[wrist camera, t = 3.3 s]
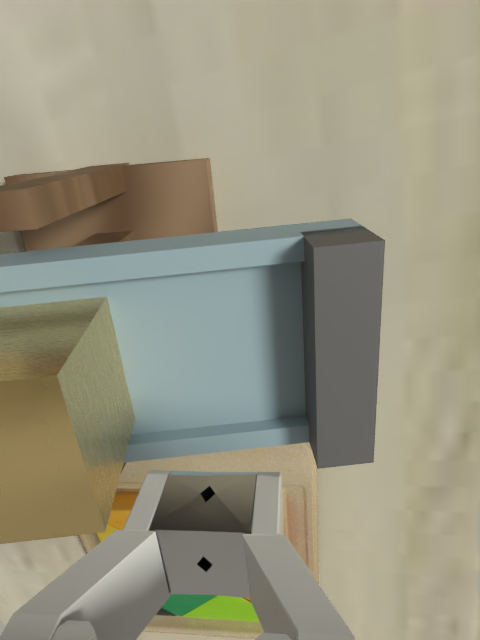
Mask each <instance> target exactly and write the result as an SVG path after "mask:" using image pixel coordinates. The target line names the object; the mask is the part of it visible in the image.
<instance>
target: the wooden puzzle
mask: <svg viewBox="0 0 480 640" xmlns="http://www.w3.org/2000/svg"><path fill="white" fill-rule="evenodd" d="M151 470H158V471H195V472H280V473H281V477H282V493H283V510H284V536H286V537H287V538H288V539H289V541H290V542H291V544H292V545H293V547H294V548H295V550H296V551H297V553H298V554H299V556H300V557H301V559H302V560H303V562H304V563H305V565H306V566H307V567H308V569H309V570H310V572H311V573H312V575H313V576H314V578H315V579H316V581H317V582H318V584H319V572H318V504H317V467H316V462H315V459H314V455H313V452H312V449H311V446H310V445H309V443H308V442H307V443H298V444H289V445H280V446H271V447H261V448H252V449H243V450H234V451H225V452H216V453H207V454H198V455H189V456H180V457H171V458H162V459H153V460H143V461H134V462H126V464H125V467H124V469H123V471H122V473H121V475H120V478H119V482H118V486H117V490H116V493H115V497H114V501H113V505H112V508H111V512H110V516H109V520H108V523H107V527H106V531H105V532H101V533H93V534H84V535H79V537H80V540H81V542H82V544H83V546H84V548H85V551H86V553H88V552H90V551H91V550H92V549H93V548H94V547H96V546H97V545H98V544H99V543H101V542H102V541H103V540H104V539H105V538H107V537H108V536H109V535H110V534H112V533H113V532H114V531H115V530H123V528H124V526H125V524H126V521H127V519H128V517H129V514H130V512H131V509H132V507H133V505H134V502H135V500H136V498H137V495H138V493H139V491H140V488H141V486H142V484H143V481H144V479H145V477H146V475H147V474H148V473H149V472H150V471H151ZM143 631H145V632H160V633H175V634H191V635H206V636H221V637H239V638H257V637H258V636H259V635H260V634H261V633H265V632H264V630H263V628H262V625H261V623H260V621H259V619H258V616H257V614H256V612H255V610H254V607H253V605H252V603H251V601H250V598H242V597H231V596H219V595H201V594H170V597H169V599H168V600H167V601H166V602H165V604H164V605H163V606H162V607H161V609H160V610H159V611H158V612H157V614H156V615H155V616H154V617H153V619H152V620H151V621H150V622H149V624H148V625H147V626H146V627H145V629H144V630H143Z"/></svg>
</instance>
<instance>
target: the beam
mask: <svg viewBox="0 0 480 640" xmlns="http://www.w3.org/2000/svg"><path fill="white" fill-rule="evenodd" d="M384 248H385V240H383V239H382V238H380V237H379V236H377V235H376V234H374V233H373V232H371V231H369V230H368V229H366V228H365V227H363V226H362V225H360V224H359V223H357V222H356V221H354V220H352V219H342V220H332V221H322V222H312V223H302V224H292V225H283V226H273V227H263V228H253V229H243V230H233V231H223V232H213V233H203V234H193V235H184V236H174V237H164V238H154V239H144V240H134V241H124V242H114V243H104V244H94V245H85V246H75V247H65V248H55V249H45V250H35V251H25V252H15V253H5V254H0V308H1V307H11V306H20V305H30V304H40V303H49V302H59V301H69V300H78V299H88V298H98V297H107V299H108V303H109V308H110V312H111V316H112V321H113V325H114V329H115V334H116V338H117V342H118V347H119V351H120V355H121V360H122V364H123V368H124V373H125V377H126V381H127V386H128V390H129V394H130V399H131V403H132V407H133V412H134V416H135V422H134V426H133V429H132V433H131V437H130V441H129V444H128V448H127V452H126V456H125V459H124V463H125V462H134V461H143V460H153V459H162V458H171V457H180V456H189V455H198V454H207V453H216V452H225V451H234V450H243V449H252V448H261V447H271V446H280V445H289V444H298V443H307V442H310V446H311V449H312V452H313V455H314V459H315V462H316V465H317V468H327V467H336V466H345V465H354V464H363V463H372V462H374V442H375V423H376V404H377V384H378V365H379V345H380V326H381V307H382V287H383V268H384Z"/></svg>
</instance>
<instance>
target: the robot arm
mask: <svg viewBox="0 0 480 640" xmlns="http://www.w3.org/2000/svg"><path fill="white" fill-rule="evenodd" d="M170 594H201V595H219V596H231V597H242V598H250V601H251V603H252V605H253V607H254V610H255V612H256V614H257V616H258V619H259V621H260V623H261V625H262V628H263V630H264V632H265V633H261V634H260V635H259V636H258V637H257V638H256V639H255V640H355V637H354V635H353V634H352V632H351V631H350V629H349V628H348V626H347V625H346V623H345V622H344V620H343V619H342V618H341V616H340V615H339V613H338V612H337V610H336V609H335V607H334V606H333V604H332V603H331V601H330V600H329V598H328V597H327V595H326V594H325V592H324V591H323V590H322V588H321V587H320V585H319V584H318V582H317V581H316V579H315V578H314V576H313V575H312V573H311V572H310V570H309V569H308V567H307V566H306V565H305V563H304V562H303V560H302V559H301V557H300V556H299V554H298V553H297V551H296V550H295V548H294V547H293V545H292V544H291V542H290V541H289V539H288V538H287V537H286V536H284V510H283V493H282V477H281V473H280V472H195V471H158V470H151V471H150V472H149V473H148V474H147V475H146V477H145V479H144V481H143V484H142V486H141V488H140V491H139V493H138V495H137V498H136V500H135V502H134V505H133V507H132V509H131V512H130V514H129V517H128V519H127V521H126V524H125V526H124V528H123V530H115V531H114V532H113V533H112V534H110V535H109V536H108V537H107V538H105V539H104V540H103V541H102V542H101V543H99V544H98V545H97V546H96V547H94V548H93V549H92V550H91V551H90V552H88V553H87V554H86V555H85V556H83V557H82V558H81V559H80V560H78V561H77V562H76V563H75V564H74V565H72V566H71V567H70V568H69V569H67V570H66V571H65V572H64V573H63V574H61V575H60V576H59V577H58V578H56V579H55V580H54V581H53V582H51V583H50V584H49V585H48V586H47V587H45V588H44V589H43V590H42V591H40V592H39V593H38V594H37V595H36V596H34V597H33V598H32V599H31V600H29V601H28V602H27V603H26V604H25V605H23V606H22V607H21V608H20V609H18V610H17V611H16V612H15V613H13V615H12V617H11V618H10V620H9V622H8V623H7V625H6V627H5V629H4V630H3V632H2V634H1V636H0V640H136V639H137V638H138V636H139V635H140V634H141V632H142V631H143V630H144V629H145V627H146V626H147V625H148V624H149V622H150V621H151V620H152V619H153V617H154V616H155V615H156V614H157V612H158V611H159V610H160V609H161V607H162V606H163V605H164V604H165V602H166V601H167V600H168V599H169V597H170Z"/></svg>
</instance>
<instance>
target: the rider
mask: <svg viewBox="0 0 480 640" xmlns="http://www.w3.org/2000/svg"><path fill="white" fill-rule="evenodd" d="M134 422H135V416H134V412H133V407H132V403H131V399H130V394H129V390H128V386H127V381H126V377H125V373H124V368H123V364H122V360H121V355H120V351H119V347H118V342H117V338H116V334H115V329H114V325H113V321H112V316H111V312H110V308H109V303H108V299H107V297H98V298H88V299H78V300H69V301H59V302H49V303H40V304H30V305H20V306H11V307H1V308H0V544H4V543H13V542H22V541H31V540H39V539H48V538H57V537H66V536H75V535H84V534H93V533H101V532H105V531H106V527H107V523H108V520H109V516H110V512H111V508H112V505H113V501H114V497H115V493H116V490H117V486H118V482H119V478H120V475H121V471H122V467H123V463H124V459H125V456H126V452H127V448H128V444H129V441H130V437H131V433H132V429H133V426H134Z"/></svg>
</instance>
